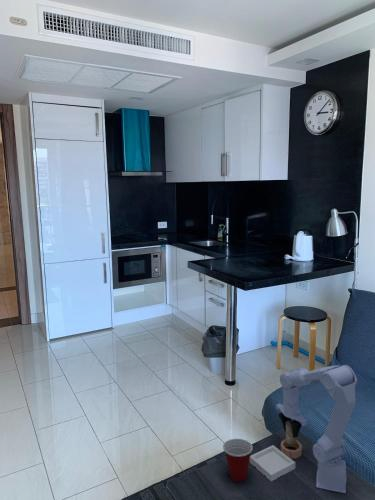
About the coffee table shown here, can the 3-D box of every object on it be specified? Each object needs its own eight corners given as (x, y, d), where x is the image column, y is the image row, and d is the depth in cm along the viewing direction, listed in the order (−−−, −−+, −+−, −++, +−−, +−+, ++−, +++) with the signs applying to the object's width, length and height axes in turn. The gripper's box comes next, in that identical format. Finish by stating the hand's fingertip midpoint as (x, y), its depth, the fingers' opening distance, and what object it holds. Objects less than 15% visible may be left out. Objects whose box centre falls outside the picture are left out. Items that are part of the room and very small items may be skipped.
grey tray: (273, 450, 151) (272, 445, 151) (295, 468, 141) (295, 462, 140) (249, 462, 145) (249, 456, 145) (271, 481, 135) (271, 475, 134)
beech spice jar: (297, 439, 151) (296, 418, 150) (296, 446, 147) (296, 424, 146) (286, 437, 152) (286, 417, 151) (285, 444, 148) (285, 422, 147)
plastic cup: (250, 464, 144) (249, 435, 142) (256, 486, 133) (255, 454, 131) (222, 466, 144) (221, 437, 142) (225, 487, 133) (224, 456, 131)
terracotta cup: (302, 446, 153) (302, 440, 152) (301, 460, 145) (301, 453, 145) (282, 443, 155) (282, 437, 155) (279, 456, 148) (279, 449, 147)
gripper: (312, 406, 143) (312, 439, 145) (284, 390, 156) (285, 421, 157) (299, 412, 140) (299, 446, 141) (272, 395, 152) (272, 427, 154)
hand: (291, 433), depth 149 cm, fingers closed on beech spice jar, 4 cm apart
